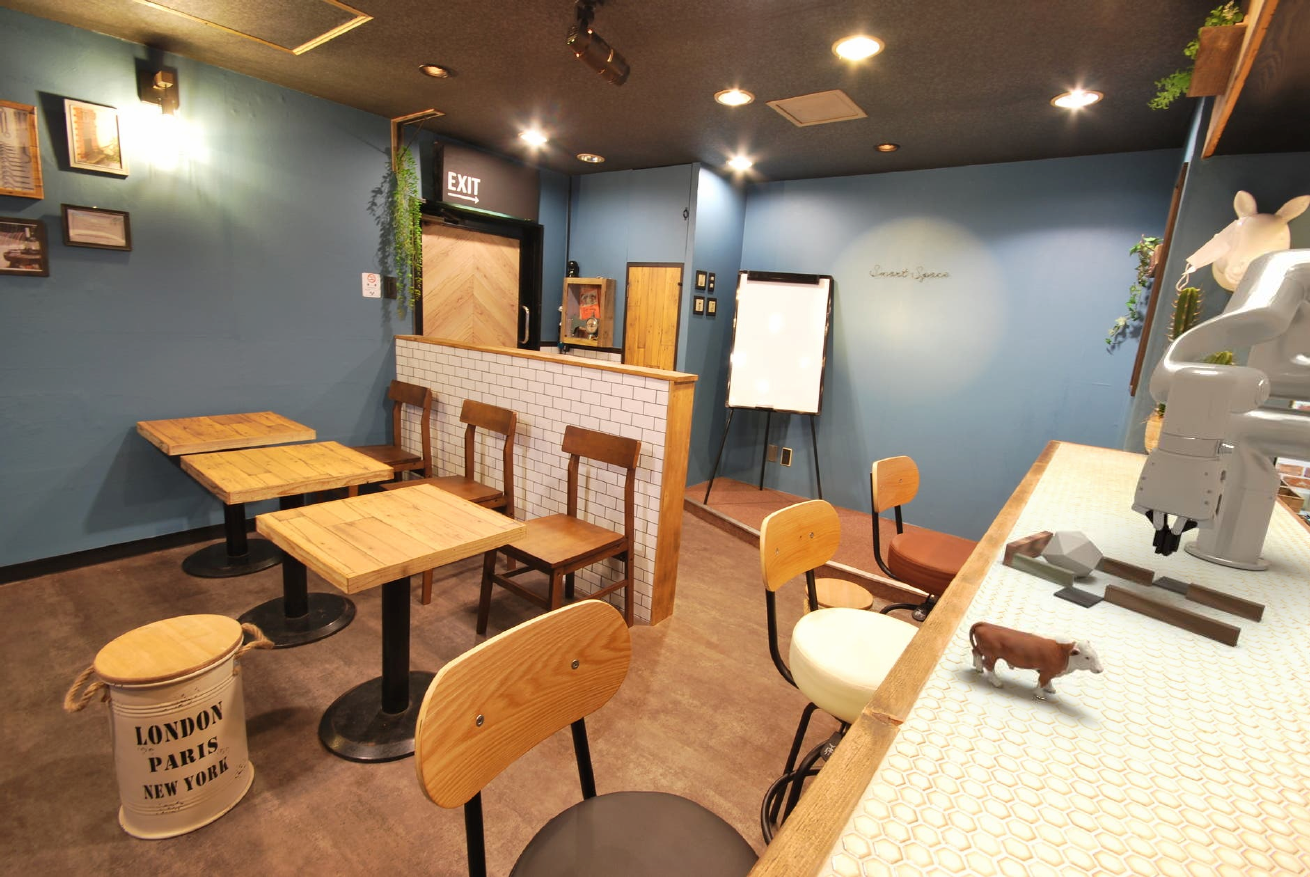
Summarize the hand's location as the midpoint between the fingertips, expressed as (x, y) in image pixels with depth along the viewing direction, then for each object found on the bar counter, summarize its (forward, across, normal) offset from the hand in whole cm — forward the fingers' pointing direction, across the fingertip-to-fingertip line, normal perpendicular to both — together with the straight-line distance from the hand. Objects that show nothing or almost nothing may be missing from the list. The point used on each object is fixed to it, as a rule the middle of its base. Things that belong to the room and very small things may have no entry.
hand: (1163, 552), depth 97 cm
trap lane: (+8, +4, +2) cm, 9 cm away
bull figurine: (+6, -1, +48) cm, 49 cm away
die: (+8, +12, +3) cm, 15 cm away
